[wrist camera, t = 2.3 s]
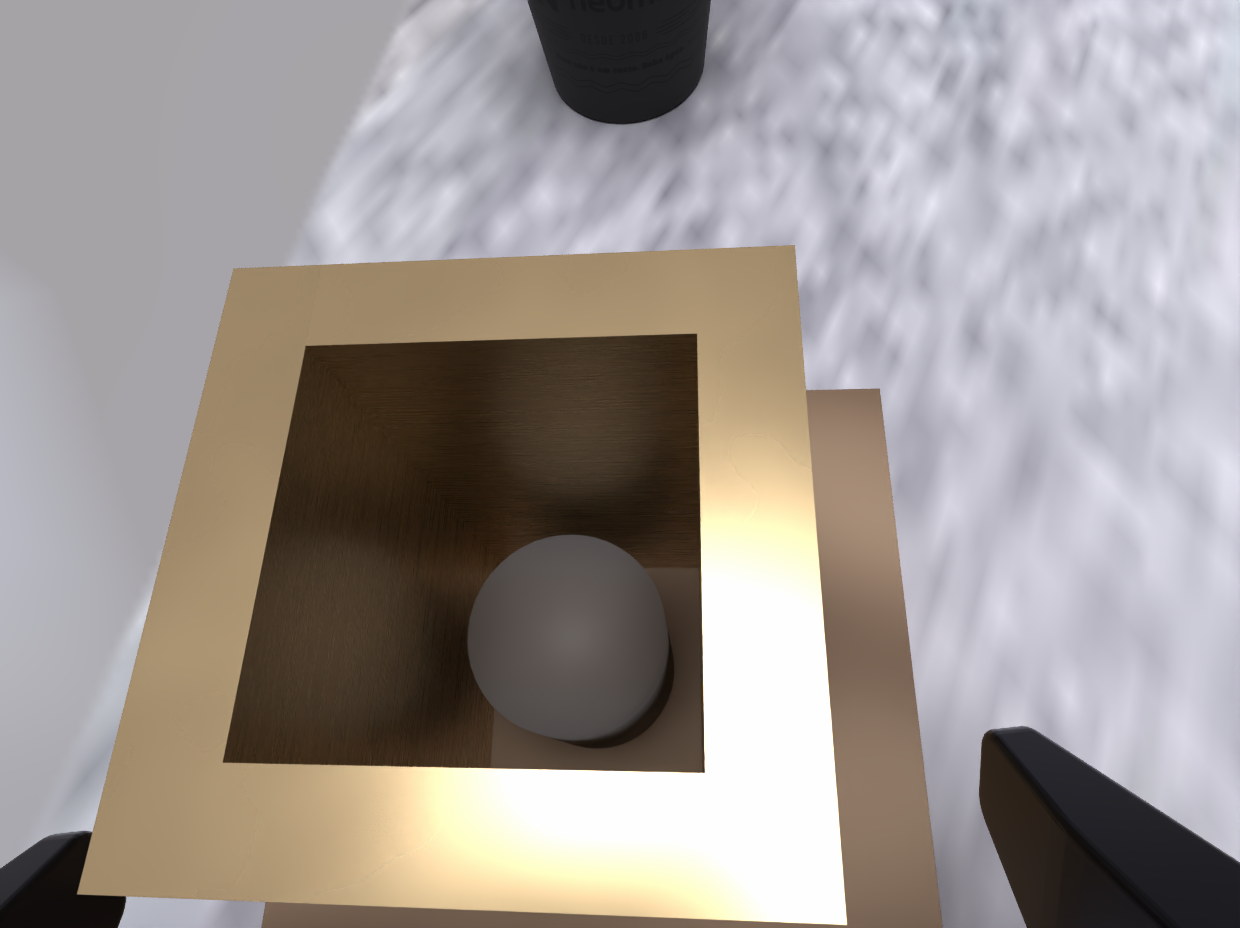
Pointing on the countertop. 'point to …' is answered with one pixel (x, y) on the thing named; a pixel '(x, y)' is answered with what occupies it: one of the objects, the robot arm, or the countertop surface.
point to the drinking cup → (623, 53)
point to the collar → (453, 576)
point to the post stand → (671, 692)
